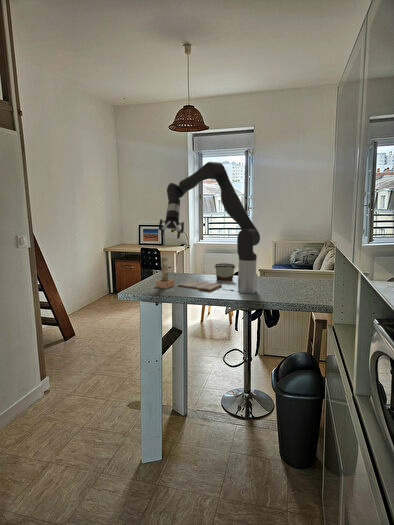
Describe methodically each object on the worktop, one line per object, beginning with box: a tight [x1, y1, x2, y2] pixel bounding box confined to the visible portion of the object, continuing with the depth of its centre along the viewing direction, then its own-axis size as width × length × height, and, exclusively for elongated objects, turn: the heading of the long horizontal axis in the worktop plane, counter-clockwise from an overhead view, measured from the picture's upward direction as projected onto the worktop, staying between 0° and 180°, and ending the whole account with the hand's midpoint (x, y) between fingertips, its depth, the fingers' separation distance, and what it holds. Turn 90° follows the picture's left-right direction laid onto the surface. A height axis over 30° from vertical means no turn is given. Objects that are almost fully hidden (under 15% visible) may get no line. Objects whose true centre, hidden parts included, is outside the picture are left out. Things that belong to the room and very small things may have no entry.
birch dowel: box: [161, 256, 169, 282], centre depth 193 cm, size 4×4×16 cm
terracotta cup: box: [155, 278, 175, 289], centre depth 194 cm, size 7×7×4 cm
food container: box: [214, 262, 236, 282], centre depth 214 cm, size 12×6×10 cm, turn 84°
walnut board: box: [177, 279, 223, 293], centre depth 196 cm, size 20×14×2 cm
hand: (170, 237), depth 200 cm, fingers open, 8 cm apart
